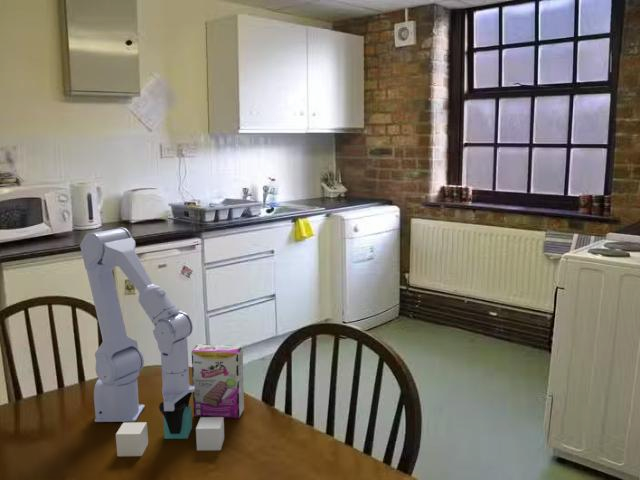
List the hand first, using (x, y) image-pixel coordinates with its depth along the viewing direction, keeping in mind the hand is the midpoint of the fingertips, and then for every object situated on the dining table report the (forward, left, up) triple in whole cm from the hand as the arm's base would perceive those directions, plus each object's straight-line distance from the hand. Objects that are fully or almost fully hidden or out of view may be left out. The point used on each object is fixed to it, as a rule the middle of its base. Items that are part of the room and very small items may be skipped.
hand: (178, 426), depth 133 cm
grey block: (+8, -5, -2) cm, 10 cm away
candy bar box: (+8, +9, -2) cm, 12 cm away
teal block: (0, 0, -1) cm, 1 cm away
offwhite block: (-8, -7, -2) cm, 11 cm away
